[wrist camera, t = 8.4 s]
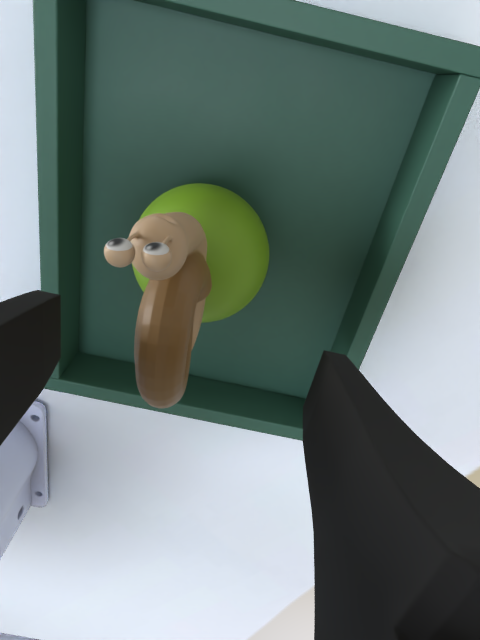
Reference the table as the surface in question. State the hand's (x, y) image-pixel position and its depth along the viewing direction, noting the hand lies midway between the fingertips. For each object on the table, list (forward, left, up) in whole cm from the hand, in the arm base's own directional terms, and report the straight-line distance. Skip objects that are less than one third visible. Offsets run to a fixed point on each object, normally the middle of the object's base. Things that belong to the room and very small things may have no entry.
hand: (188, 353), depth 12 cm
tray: (0, 0, -10) cm, 10 cm away
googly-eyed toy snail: (+1, +1, -9) cm, 9 cm away
